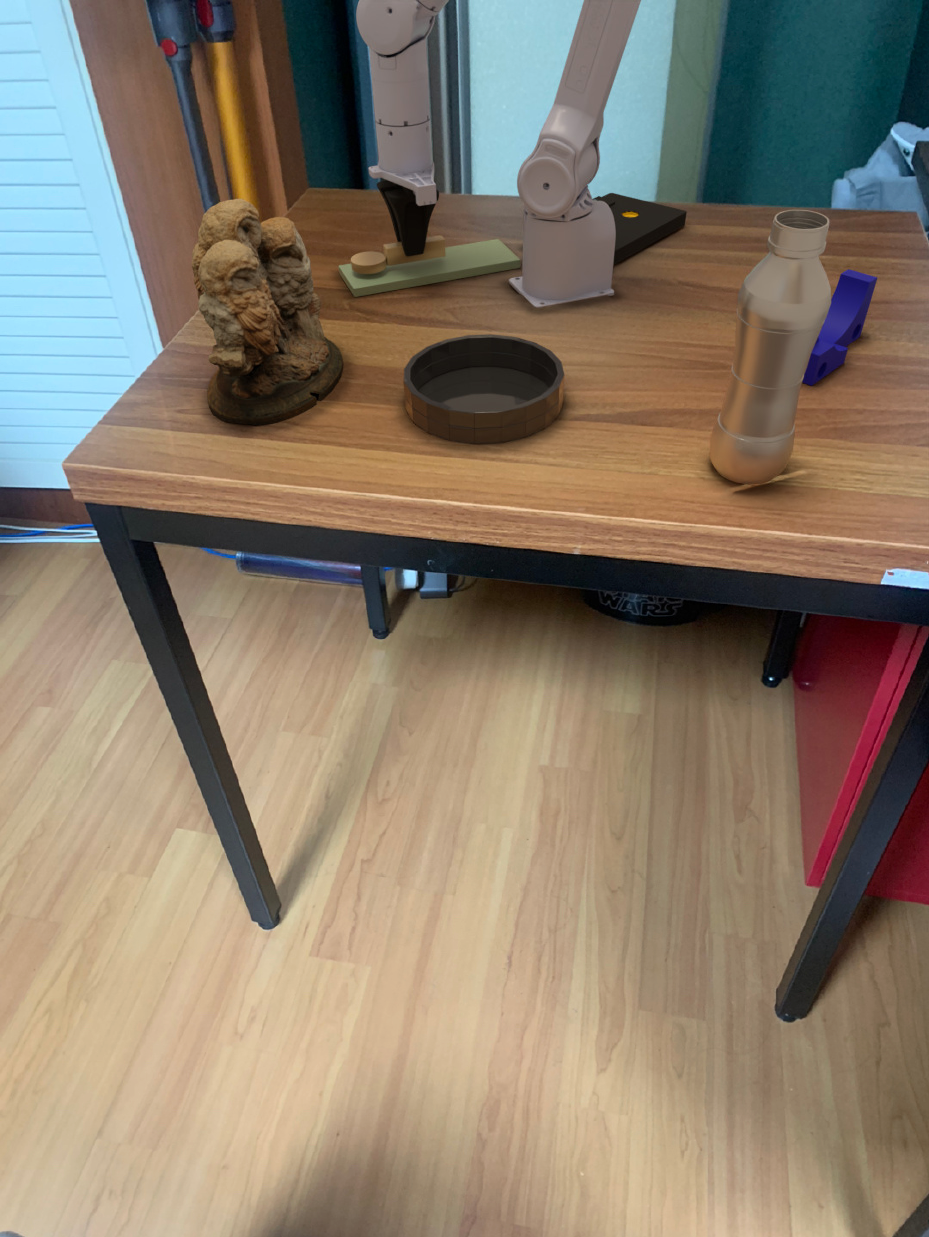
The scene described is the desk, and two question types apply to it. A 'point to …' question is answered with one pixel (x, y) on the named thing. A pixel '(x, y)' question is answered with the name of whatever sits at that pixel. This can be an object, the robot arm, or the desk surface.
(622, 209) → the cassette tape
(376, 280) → the board
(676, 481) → the desk surface
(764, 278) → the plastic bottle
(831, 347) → the blue curved bracket
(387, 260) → the wooden paddle
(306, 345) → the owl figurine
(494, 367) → the pan
